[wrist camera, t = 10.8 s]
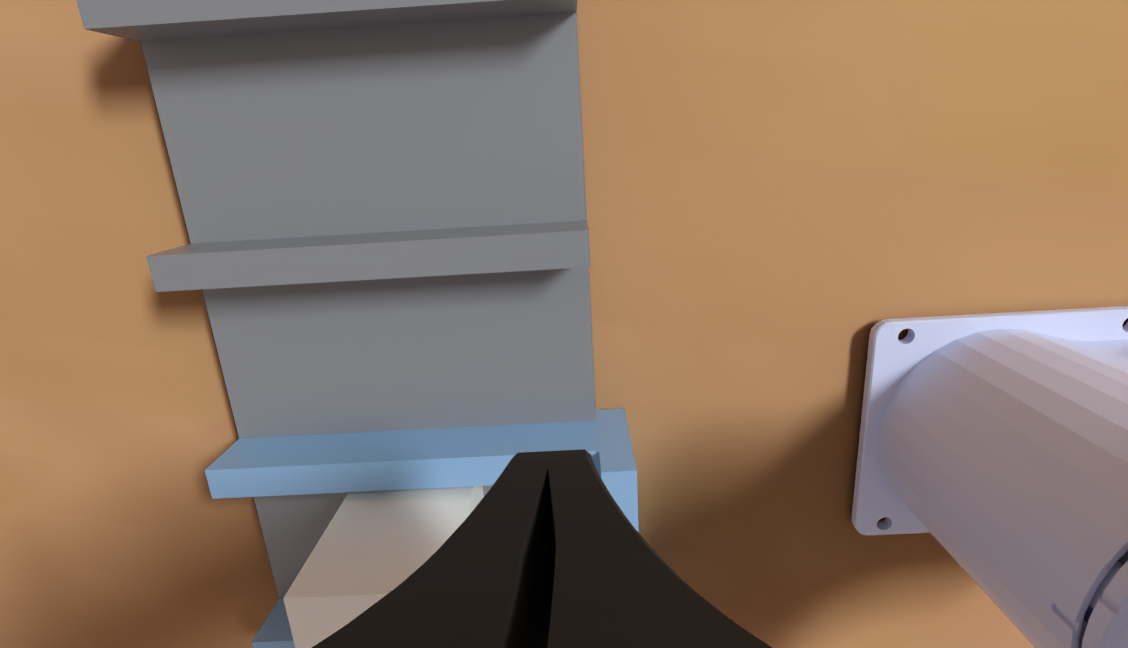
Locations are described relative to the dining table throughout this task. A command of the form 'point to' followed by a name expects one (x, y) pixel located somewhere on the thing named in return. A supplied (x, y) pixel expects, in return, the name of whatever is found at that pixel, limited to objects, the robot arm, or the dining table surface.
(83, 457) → the dining table surface
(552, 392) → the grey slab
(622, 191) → the dining table surface
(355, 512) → the block
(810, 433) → the dining table surface
